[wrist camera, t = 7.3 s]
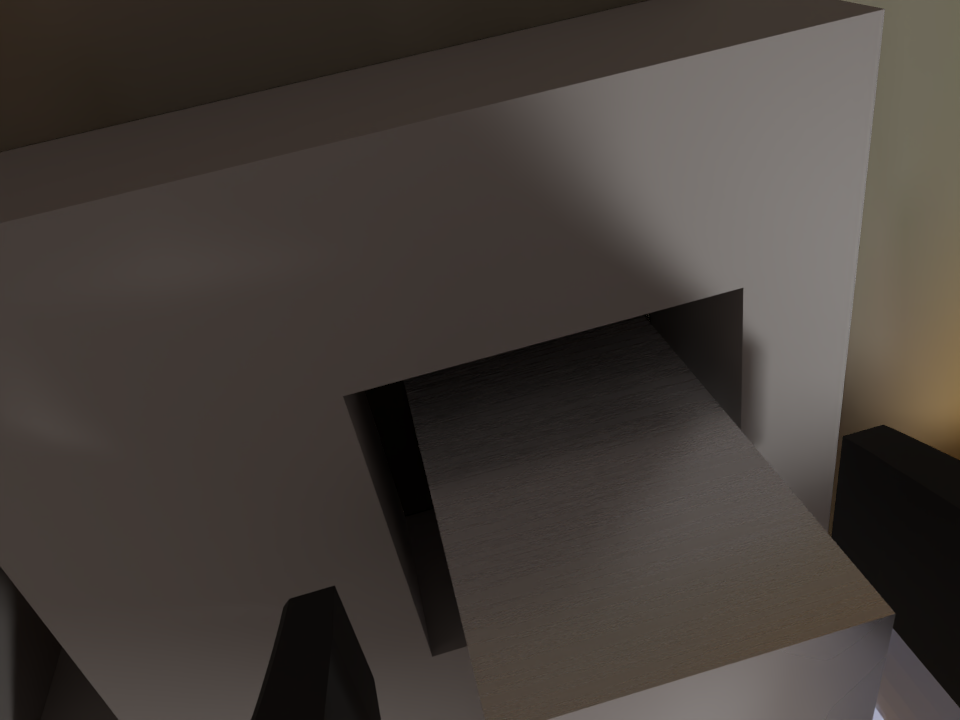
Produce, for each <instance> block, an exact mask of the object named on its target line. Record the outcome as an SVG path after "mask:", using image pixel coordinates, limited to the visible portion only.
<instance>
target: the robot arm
mask: <svg viewBox="0 0 960 720" xmlns="http://www.w3.org/2000/svg"><path fill="white" fill-rule="evenodd" d="M832 539H833V540H834V541H835V542H836V544H837V545H838V546H839V547H840V548H841V549H842V551H843V552H844V553H845V554H846V555H847V557H848V558H849V559H850V560H851V561H852V562H853V564H854V565H855V566H856V567H857V568H858V570H859V571H860V572H861V573H862V574H863V576H864V577H865V578H866V579H867V580H868V581H869V583H870V584H871V585H872V586H873V587H874V589H875V590H876V591H877V592H878V593H879V594H880V596H881V597H882V598H883V599H884V600H885V602H886V603H887V604H888V605H889V606H890V607H891V609H892V610H893V611H894V612H895V613H896V615H895V619H894V624H893V628H892V633H891V637H890V642H889V647H888V651H887V656H886V660H885V665H884V669H883V674H882V679H881V683H880V688H879V692H878V697H877V701H876V706H875V711H874V715H873V720H960V460H957V459H955V458H953V457H951V456H949V455H947V454H945V453H943V452H941V451H939V450H937V449H935V448H933V447H931V446H929V445H927V444H924V443H922V442H920V441H918V440H916V439H914V438H912V437H910V436H907V435H905V434H903V433H901V432H899V431H897V430H894V429H892V428H890V427H888V426H885V425H880V426H877V427H874V428H870V429H867V430H863V431H860V432H857V433H853V434H850V435H846V436H843V440H842V449H841V458H840V467H839V476H838V485H837V493H836V502H835V511H834V520H833V529H832ZM251 720H381V716H380V710H379V704H378V699H377V693H376V687H375V681H374V677H373V675H372V672H371V670H370V667H369V665H368V663H367V660H366V658H365V656H364V653H363V651H362V649H361V646H360V644H359V641H358V639H357V637H356V634H355V632H354V630H353V627H352V625H351V623H350V620H349V618H348V615H347V613H346V611H345V608H344V606H343V604H342V601H341V599H340V596H339V594H338V592H337V589H336V587H335V585H334V586H331V587H327V588H324V589H320V590H317V591H314V592H310V593H307V594H303V595H300V596H297V597H293V598H290V599H289V600H288V601H287V602H286V604H285V605H284V607H283V610H282V615H281V619H280V623H279V627H278V631H277V635H276V638H275V642H274V646H273V649H272V653H271V657H270V660H269V664H268V667H267V670H266V674H265V677H264V680H263V684H262V687H261V690H260V693H259V697H258V700H257V703H256V706H255V709H254V712H253V715H252V718H251Z"/></svg>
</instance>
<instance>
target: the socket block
mask: <svg viewBox="0 0 960 720" xmlns="http://www.w3.org/2000/svg"><path fill="white" fill-rule="evenodd" d="M884 12H885V9H882V8H877V7H872V6H866V5H861V4H856V3H851V2H846V1H841V0H648V1H644V2H640V3H636V4H631V5H627V6H623V7H619V8H614V9H610V10H606V11H602V12H597V13H593V14H589V15H584V16H580V17H576V18H572V19H567V20H563V21H559V22H555V23H550V24H546V25H542V26H537V27H533V28H529V29H525V30H520V31H516V32H512V33H508V34H503V35H499V36H495V37H491V38H486V39H482V40H478V41H473V42H469V43H465V44H461V45H456V46H452V47H448V48H444V49H439V50H435V51H431V52H426V53H422V54H418V55H414V56H409V57H405V58H401V59H397V60H392V61H388V62H384V63H380V64H375V65H371V66H367V67H362V68H358V69H354V70H350V71H345V72H341V73H337V74H333V75H328V76H324V77H320V78H315V79H311V80H307V81H303V82H298V83H294V84H290V85H286V86H281V87H277V88H273V89H269V90H264V91H260V92H256V93H251V94H247V95H243V96H239V97H234V98H230V99H226V100H222V101H217V102H213V103H209V104H204V105H200V106H196V107H192V108H187V109H183V110H179V111H175V112H170V113H166V114H162V115H158V116H153V117H149V118H145V119H140V120H136V121H132V122H128V123H123V124H119V125H115V126H111V127H106V128H102V129H98V130H93V131H89V132H85V133H81V134H76V135H72V136H68V137H64V138H59V139H55V140H51V141H47V142H42V143H38V144H34V145H29V146H25V147H21V148H17V149H12V150H8V151H4V152H0V720H251V718H252V715H253V712H254V709H255V706H256V703H257V700H258V697H259V693H260V690H261V687H262V684H263V680H264V677H265V674H266V670H267V667H268V664H269V660H270V657H271V653H272V649H273V646H274V642H275V638H276V635H277V631H278V627H279V623H280V619H281V615H282V610H283V607H284V605H285V604H286V602H287V601H288V600H289V599H290V598H293V597H297V596H300V595H303V594H307V593H310V592H314V591H317V590H320V589H324V588H327V587H331V586H334V585H335V587H336V589H337V592H338V594H339V596H340V599H341V601H342V604H343V606H344V608H345V611H346V613H347V615H348V618H349V620H350V623H351V625H352V627H353V630H354V632H355V634H356V637H357V639H358V641H359V644H360V646H361V649H362V651H363V653H364V656H365V658H366V660H367V663H368V665H369V667H370V670H371V672H372V675H373V677H374V681H375V687H376V693H377V699H378V704H379V710H380V716H381V720H485V717H484V713H483V709H482V705H481V700H480V696H479V692H478V688H477V684H476V680H475V676H474V671H473V667H472V663H471V659H470V655H469V651H468V647H467V642H466V638H465V634H464V630H463V626H462V622H461V617H460V613H459V609H458V605H457V601H456V597H455V593H454V588H453V584H452V580H451V576H450V572H449V568H448V564H447V559H446V555H445V551H444V547H443V543H442V539H441V535H440V530H439V526H438V522H437V518H436V514H435V510H434V509H431V510H427V511H424V512H420V513H417V514H413V515H410V516H406V517H405V514H404V511H403V508H402V505H401V502H400V498H399V495H398V492H397V489H396V486H395V483H394V480H393V477H392V474H391V471H390V467H389V464H388V461H387V458H386V455H385V452H384V449H383V446H382V443H381V439H380V436H379V433H378V430H377V427H376V424H375V421H374V418H373V415H372V411H371V408H370V405H369V402H368V399H367V396H366V393H365V390H368V389H372V388H375V387H379V386H383V385H386V384H390V383H394V382H397V381H401V380H405V379H409V378H412V377H416V376H420V375H423V374H427V373H431V372H434V371H438V370H442V369H445V368H449V367H453V366H456V365H460V364H464V363H467V362H471V361H475V360H479V359H482V358H486V357H490V356H493V355H497V354H501V353H504V352H508V351H512V350H515V349H519V348H523V347H526V346H530V345H534V344H537V343H541V342H545V341H549V340H552V339H556V338H560V337H563V336H567V335H571V334H574V333H578V332H582V331H585V330H589V329H593V328H596V327H600V326H604V325H607V324H611V323H615V322H618V321H622V320H626V319H630V318H633V317H637V316H641V315H644V314H648V313H650V320H651V325H652V326H653V327H654V328H655V329H656V330H657V332H658V333H659V334H660V335H661V336H662V338H663V339H664V340H665V341H666V342H667V344H668V345H669V346H670V347H671V348H672V349H673V351H674V352H675V353H676V354H677V355H678V357H679V358H680V359H681V360H682V361H683V362H684V364H685V365H686V366H687V367H688V368H689V370H690V371H691V372H692V373H693V374H694V375H695V377H696V378H697V379H698V380H699V381H700V383H701V384H702V385H703V386H704V387H705V388H706V390H707V391H708V392H709V393H710V394H711V396H712V397H713V398H714V399H715V400H716V402H717V403H718V404H719V405H720V406H721V407H722V409H723V410H724V411H725V412H726V413H727V415H728V416H729V417H730V418H731V419H732V420H733V422H734V423H735V424H736V425H737V426H738V428H739V429H740V430H741V431H742V432H743V433H744V435H745V436H746V437H747V438H748V439H749V441H750V442H751V443H752V444H753V445H754V446H755V448H756V449H757V450H758V451H759V452H760V454H761V455H762V456H763V457H764V458H765V460H766V461H767V462H768V463H769V464H770V465H771V467H772V468H773V469H774V470H775V471H776V473H777V474H778V475H779V476H780V477H781V478H782V480H783V481H784V482H785V483H786V484H787V486H788V487H789V488H790V489H791V490H792V491H793V493H794V494H795V495H796V496H797V497H798V499H799V500H800V501H801V502H802V503H803V504H804V506H805V507H806V508H807V509H808V510H809V512H810V513H811V514H812V515H813V516H814V518H815V519H816V520H817V521H818V522H819V523H820V525H821V526H822V527H823V528H824V529H825V531H826V532H827V533H828V527H829V518H830V509H831V500H832V491H833V481H834V472H835V463H836V454H837V445H838V435H839V426H840V417H841V408H842V399H843V389H844V380H845V371H846V362H847V353H848V343H849V334H850V325H851V316H852V307H853V297H854V288H855V279H856V270H857V261H858V251H859V242H860V233H861V224H862V215H863V205H864V196H865V187H866V178H867V169H868V159H869V150H870V141H871V132H872V123H873V113H874V104H875V95H876V86H877V77H878V68H879V58H880V49H881V40H882V31H883V22H884Z"/></svg>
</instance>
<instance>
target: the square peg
mask: <svg viewBox="0 0 960 720" xmlns="http://www.w3.org/2000/svg"><path fill="white" fill-rule="evenodd" d="M403 381H404V385H405V389H406V393H407V398H408V402H409V406H410V410H411V414H412V418H413V423H414V427H415V431H416V435H417V439H418V443H419V447H420V452H421V456H422V460H423V464H424V468H425V472H426V476H427V481H428V485H429V489H430V493H431V497H432V501H433V505H434V510H435V514H436V518H437V522H438V526H439V530H440V535H441V539H442V543H443V547H444V551H445V555H446V559H447V564H448V568H449V572H450V576H451V580H452V584H453V588H454V593H455V597H456V601H457V605H458V609H459V613H460V617H461V622H462V626H463V630H464V634H465V638H466V642H467V647H468V651H469V655H470V659H471V663H472V667H473V671H474V676H475V680H476V684H477V688H478V692H479V696H480V700H481V705H482V709H483V713H484V717H485V720H873V715H874V711H875V706H876V701H877V697H878V692H879V688H880V683H881V679H882V674H883V669H884V665H885V660H886V656H887V651H888V647H889V642H890V637H891V633H892V628H893V624H894V619H895V615H896V613H895V612H894V611H893V610H892V609H891V607H890V606H889V605H888V604H887V603H886V602H885V600H884V599H883V598H882V597H881V596H880V594H879V593H878V592H877V591H876V590H875V589H874V587H873V586H872V585H871V584H870V583H869V581H868V580H867V579H866V578H865V577H864V576H863V574H862V573H861V572H860V571H859V570H858V568H857V567H856V566H855V565H854V564H853V562H852V561H851V560H850V559H849V558H848V557H847V555H846V554H845V553H844V552H843V551H842V549H841V548H840V547H839V546H838V545H837V544H836V542H835V541H834V540H833V539H832V538H831V536H830V535H829V534H828V533H827V532H826V531H825V529H824V528H823V527H822V526H821V525H820V523H819V522H818V521H817V520H816V519H815V518H814V516H813V515H812V514H811V513H810V512H809V510H808V509H807V508H806V507H805V506H804V504H803V503H802V502H801V501H800V500H799V499H798V497H797V496H796V495H795V494H794V493H793V491H792V490H791V489H790V488H789V487H788V486H787V484H786V483H785V482H784V481H783V480H782V478H781V477H780V476H779V475H778V474H777V473H776V471H775V470H774V469H773V468H772V467H771V465H770V464H769V463H768V462H767V461H766V460H765V458H764V457H763V456H762V455H761V454H760V452H759V451H758V450H757V449H756V448H755V446H754V445H753V444H752V443H751V442H750V441H749V439H748V438H747V437H746V436H745V435H744V433H743V432H742V431H741V430H740V429H739V428H738V426H737V425H736V424H735V423H734V422H733V420H732V419H731V418H730V417H729V416H728V415H727V413H726V412H725V411H724V410H723V409H722V407H721V406H720V405H719V404H718V403H717V402H716V400H715V399H714V398H713V397H712V396H711V394H710V393H709V392H708V391H707V390H706V388H705V387H704V386H703V385H702V384H701V383H700V381H699V380H698V379H697V378H696V377H695V375H694V374H693V373H692V372H691V371H690V370H689V368H688V367H687V366H686V365H685V364H684V362H683V361H682V360H681V359H680V358H679V357H678V355H677V354H676V353H675V352H674V351H673V349H672V348H671V347H670V346H669V345H668V344H667V342H666V341H665V340H664V339H663V338H662V336H661V335H660V334H659V333H658V332H657V330H656V329H655V328H654V327H653V326H652V325H651V323H650V322H649V321H648V320H647V319H646V317H645V316H644V315H641V316H637V317H633V318H630V319H626V320H622V321H618V322H615V323H611V324H607V325H604V326H600V327H596V328H593V329H589V330H585V331H582V332H578V333H574V334H571V335H567V336H563V337H560V338H556V339H552V340H549V341H545V342H541V343H537V344H534V345H530V346H526V347H523V348H519V349H515V350H512V351H508V352H504V353H501V354H497V355H493V356H490V357H486V358H482V359H479V360H475V361H471V362H467V363H464V364H460V365H456V366H453V367H449V368H445V369H442V370H438V371H434V372H431V373H427V374H423V375H420V376H416V377H412V378H409V379H405V380H403Z"/></svg>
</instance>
